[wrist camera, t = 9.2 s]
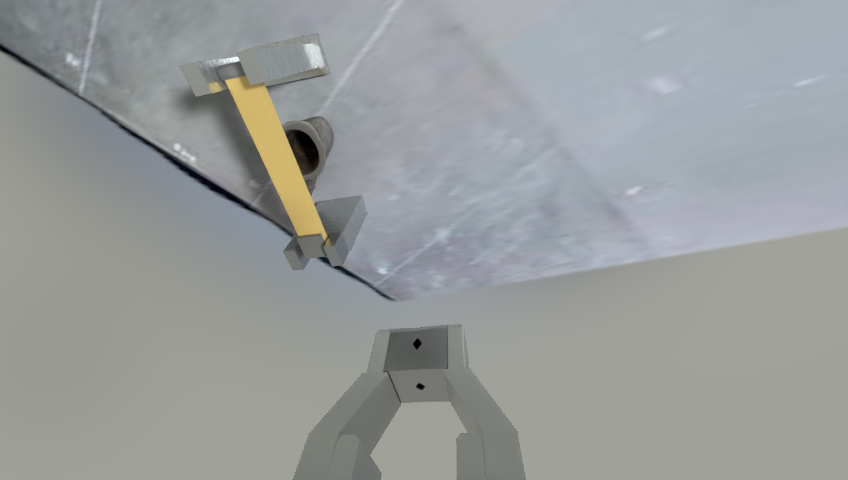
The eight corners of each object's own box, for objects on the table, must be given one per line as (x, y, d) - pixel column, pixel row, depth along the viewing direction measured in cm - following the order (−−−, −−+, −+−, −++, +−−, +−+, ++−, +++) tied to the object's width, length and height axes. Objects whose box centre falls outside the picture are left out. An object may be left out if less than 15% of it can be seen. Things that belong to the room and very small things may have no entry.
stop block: (319, 201, 47) (281, 251, 36) (361, 195, 46) (336, 245, 35) (325, 218, 48) (291, 270, 38) (367, 212, 47) (344, 265, 37)
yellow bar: (224, 65, 28) (211, 66, 26) (257, 57, 27) (246, 58, 26) (309, 250, 39) (304, 258, 38) (334, 247, 39) (329, 256, 37)
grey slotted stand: (247, 49, 36) (162, 57, 25) (318, 33, 34) (260, 34, 24) (263, 86, 38) (191, 108, 27) (330, 72, 37) (282, 89, 26)
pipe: (288, 180, 45) (261, 205, 39) (305, 95, 38) (275, 109, 32) (327, 196, 46) (308, 223, 40) (350, 117, 39) (331, 134, 33)
